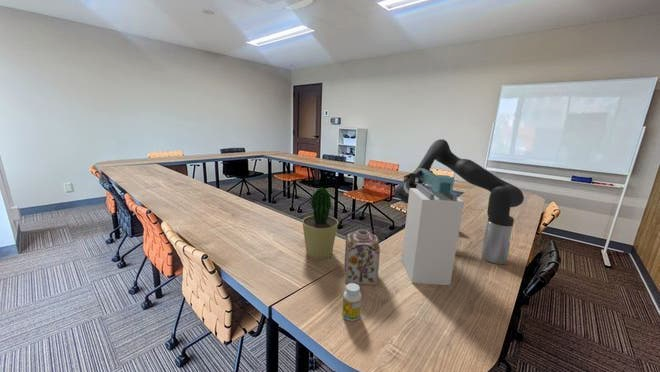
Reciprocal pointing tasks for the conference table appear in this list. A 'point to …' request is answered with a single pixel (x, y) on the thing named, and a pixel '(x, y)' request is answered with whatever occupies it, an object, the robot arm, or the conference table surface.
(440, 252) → the tall white pedestal box
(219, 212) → the conference table surface
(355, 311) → the supplement bottle
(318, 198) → the potted cactus
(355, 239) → the decorative jar
